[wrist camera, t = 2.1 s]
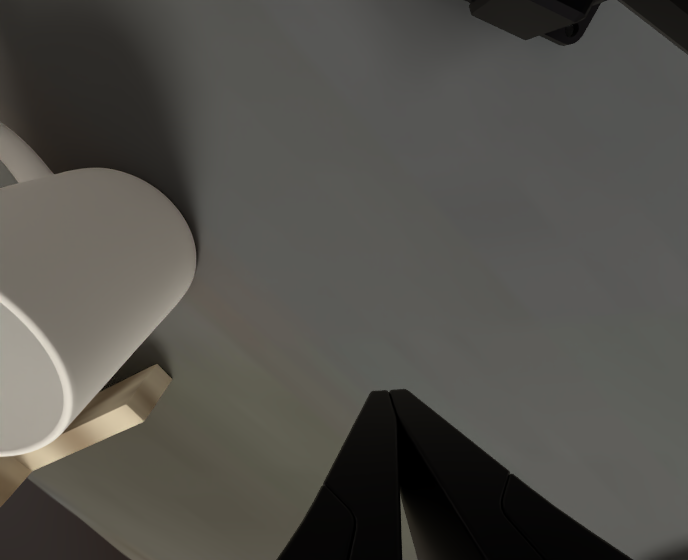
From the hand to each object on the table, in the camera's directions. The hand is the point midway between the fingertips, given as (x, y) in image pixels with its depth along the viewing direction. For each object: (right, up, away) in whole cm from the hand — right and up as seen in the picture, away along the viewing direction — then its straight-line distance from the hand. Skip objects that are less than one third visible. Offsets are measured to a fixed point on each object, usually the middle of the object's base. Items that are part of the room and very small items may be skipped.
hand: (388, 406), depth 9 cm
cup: (-14, +7, +11) cm, 19 cm away
